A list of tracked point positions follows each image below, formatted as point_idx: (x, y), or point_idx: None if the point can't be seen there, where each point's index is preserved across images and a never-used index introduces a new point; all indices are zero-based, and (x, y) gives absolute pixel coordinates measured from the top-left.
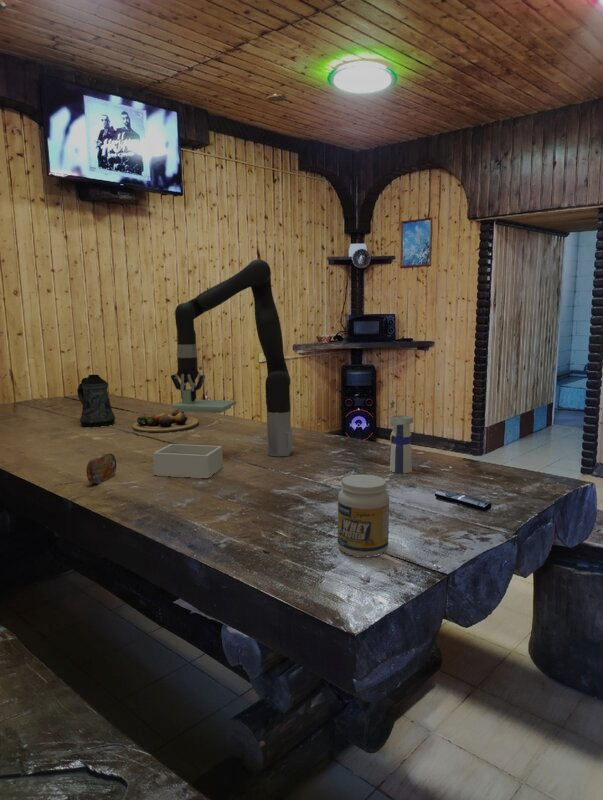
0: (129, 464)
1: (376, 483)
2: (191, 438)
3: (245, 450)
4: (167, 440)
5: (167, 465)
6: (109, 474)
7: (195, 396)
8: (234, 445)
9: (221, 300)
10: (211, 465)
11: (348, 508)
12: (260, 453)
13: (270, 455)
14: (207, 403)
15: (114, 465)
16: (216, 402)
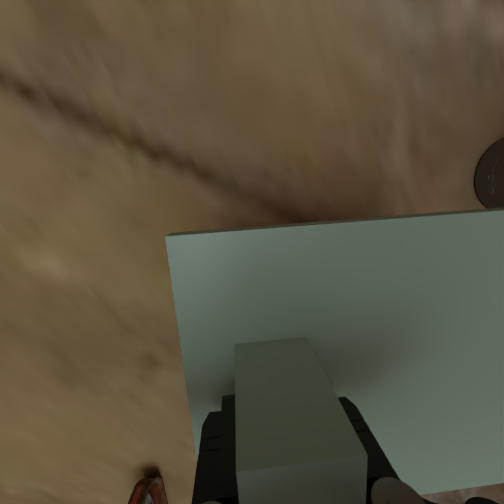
0: (128, 392)
1: None
2: (105, 3)
3: (393, 157)
4: (26, 70)
5: None
6: (158, 494)
7: (359, 431)
8: (334, 92)
9: None
10: None
11: None
12: (449, 183)
13: (487, 207)
14: (440, 379)
15: (148, 491)
16: (501, 317)
